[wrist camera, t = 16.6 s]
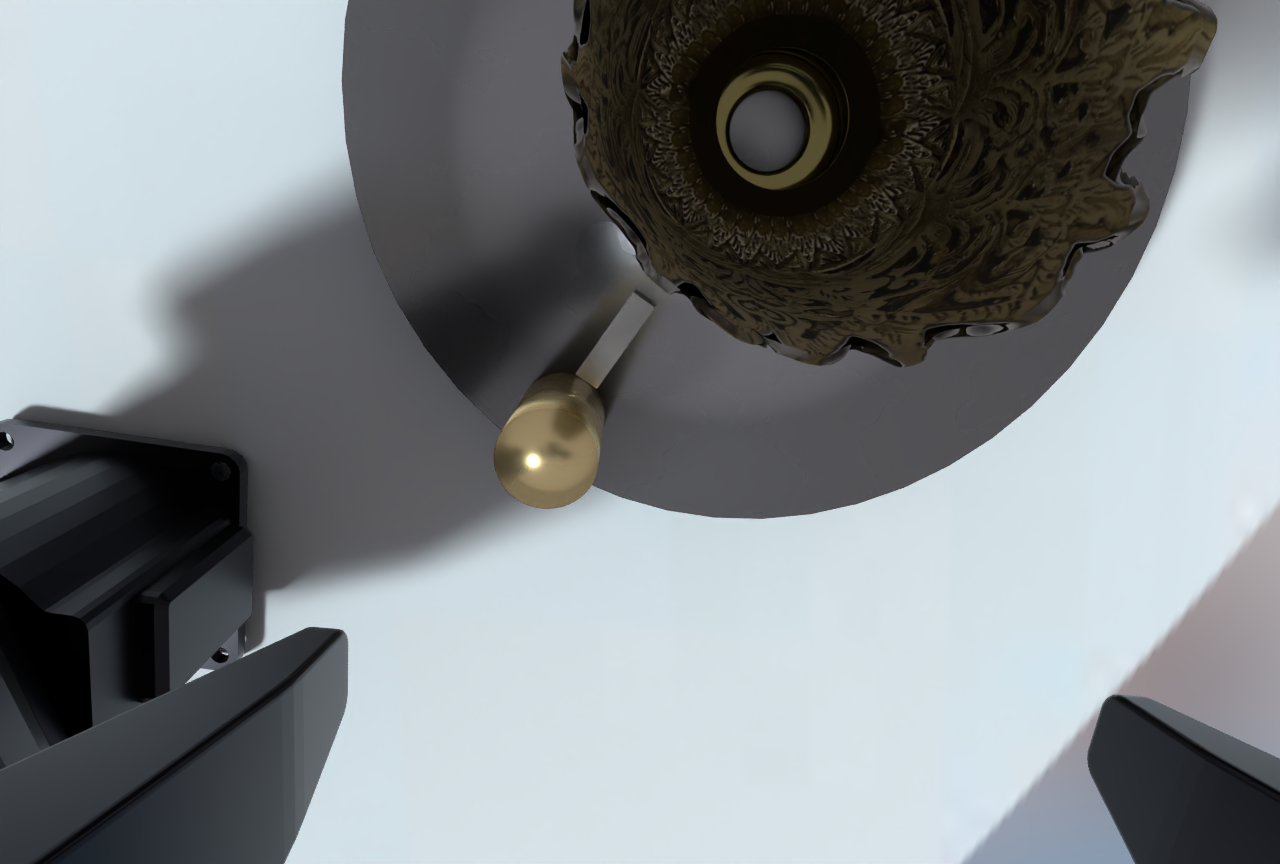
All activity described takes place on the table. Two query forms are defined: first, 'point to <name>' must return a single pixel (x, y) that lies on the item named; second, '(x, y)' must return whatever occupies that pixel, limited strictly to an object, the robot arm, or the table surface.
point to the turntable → (650, 290)
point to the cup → (873, 156)
